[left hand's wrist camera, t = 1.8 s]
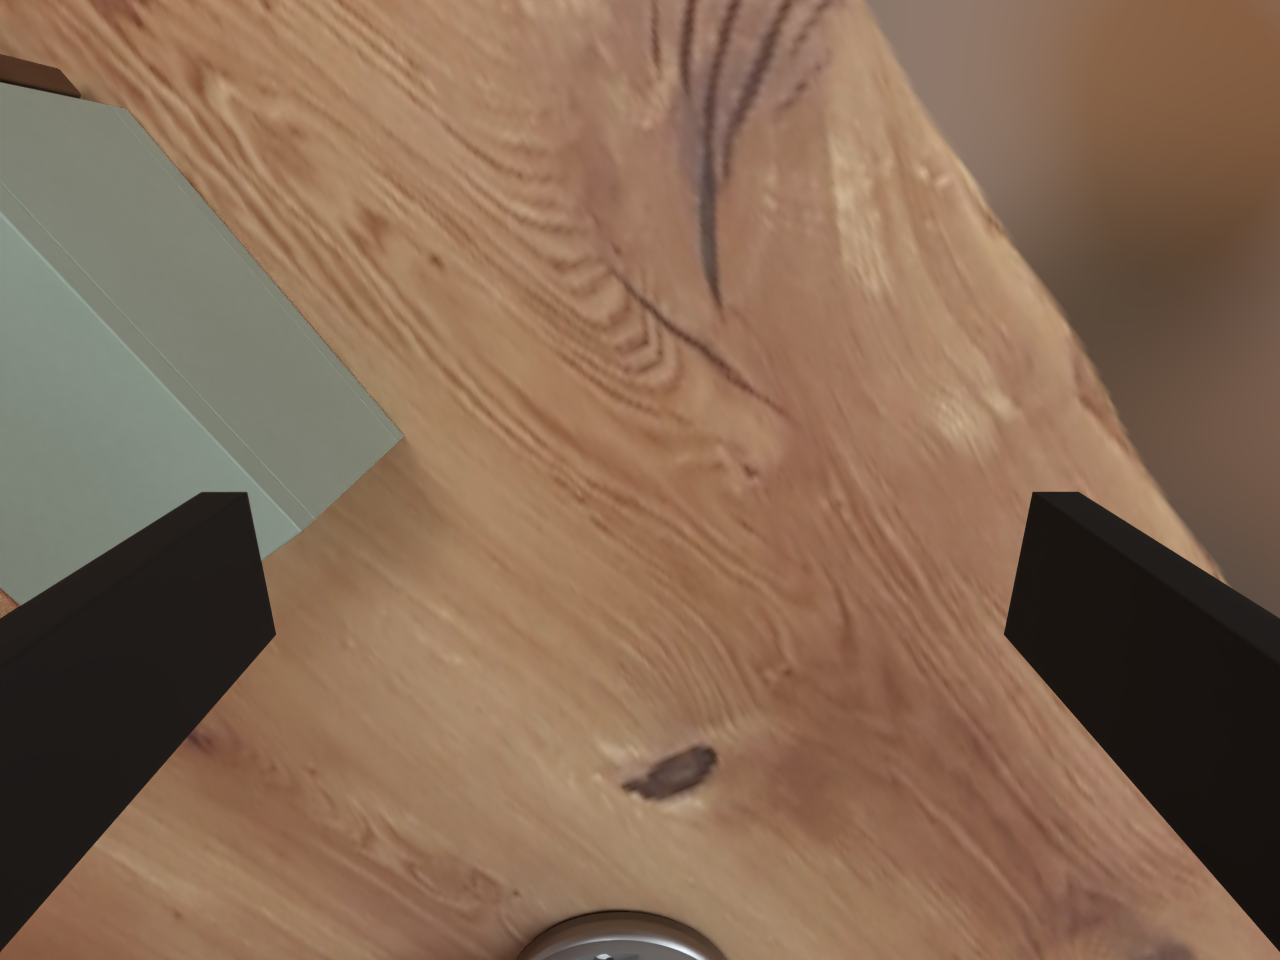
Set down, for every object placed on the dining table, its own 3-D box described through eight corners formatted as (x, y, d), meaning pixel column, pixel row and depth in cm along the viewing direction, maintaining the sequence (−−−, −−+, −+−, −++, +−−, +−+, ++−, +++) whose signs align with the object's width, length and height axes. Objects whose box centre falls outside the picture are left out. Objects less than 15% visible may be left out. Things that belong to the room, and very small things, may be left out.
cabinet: (-28, 254, 32) (-359, 273, 21) (126, 108, 30) (-154, 49, 19) (255, 545, 37) (100, 677, 26) (404, 436, 35) (302, 532, 24)
